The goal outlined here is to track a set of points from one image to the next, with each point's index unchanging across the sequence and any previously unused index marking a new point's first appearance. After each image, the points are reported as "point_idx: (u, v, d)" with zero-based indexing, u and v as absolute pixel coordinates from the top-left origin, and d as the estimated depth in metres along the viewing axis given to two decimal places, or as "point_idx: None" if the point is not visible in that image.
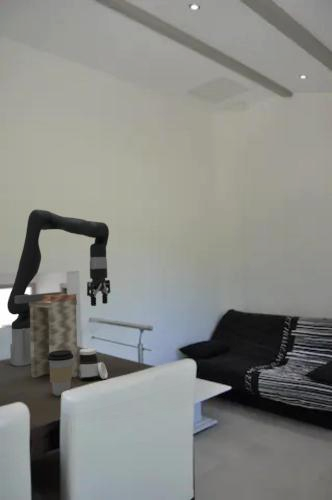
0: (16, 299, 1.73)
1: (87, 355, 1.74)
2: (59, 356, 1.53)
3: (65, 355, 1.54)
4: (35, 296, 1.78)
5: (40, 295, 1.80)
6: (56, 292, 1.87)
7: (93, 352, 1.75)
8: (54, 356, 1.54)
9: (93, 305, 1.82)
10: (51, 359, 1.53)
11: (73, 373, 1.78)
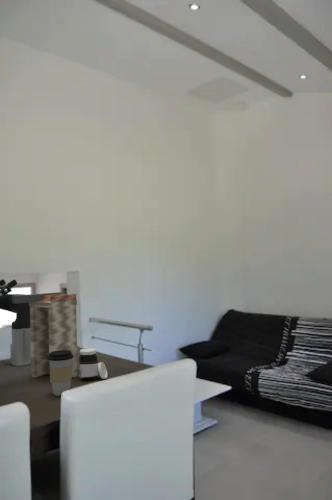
0: (13, 299, 1.74)
1: (87, 355, 1.74)
2: (59, 356, 1.53)
3: (65, 355, 1.54)
4: (33, 296, 1.78)
5: (38, 295, 1.79)
6: (57, 292, 1.86)
7: (93, 352, 1.75)
8: (54, 356, 1.54)
9: None
10: (51, 359, 1.53)
11: (73, 373, 1.78)
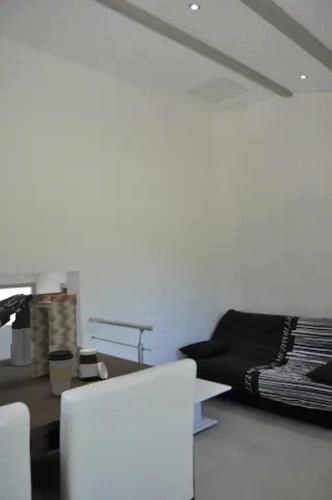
0: (13, 299, 1.74)
1: (87, 355, 1.74)
2: (59, 356, 1.53)
3: (65, 355, 1.54)
4: (33, 296, 1.78)
5: (39, 295, 1.79)
6: (57, 292, 1.86)
7: (93, 352, 1.75)
8: (54, 356, 1.54)
9: None
10: (51, 359, 1.53)
11: (73, 373, 1.78)
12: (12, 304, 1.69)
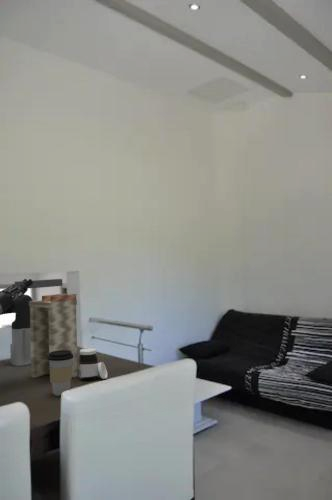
0: (16, 285, 1.72)
1: (87, 355, 1.74)
2: (59, 356, 1.53)
3: (65, 355, 1.54)
4: (35, 282, 1.77)
5: (40, 281, 1.79)
6: (56, 279, 1.86)
7: (93, 352, 1.75)
8: (54, 356, 1.54)
9: (26, 281, 1.78)
10: (51, 359, 1.53)
11: (73, 373, 1.78)
12: (13, 289, 1.69)
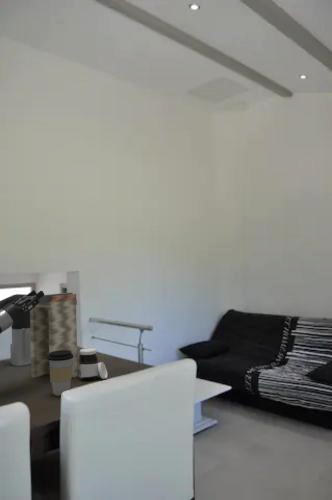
0: None
1: (87, 355, 1.74)
2: (59, 356, 1.53)
3: (65, 355, 1.54)
4: (45, 297, 1.72)
5: None
6: (67, 293, 1.82)
7: (93, 352, 1.75)
8: (54, 356, 1.54)
9: None
10: (51, 359, 1.53)
11: (73, 373, 1.78)
12: (23, 301, 1.64)
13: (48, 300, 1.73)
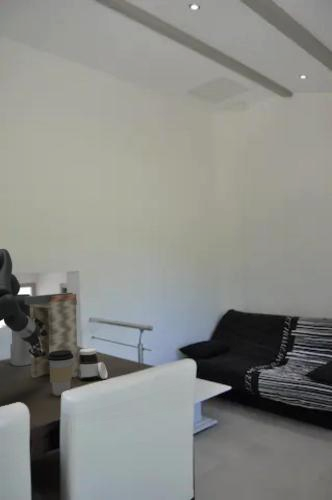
0: (26, 300, 1.68)
1: (87, 355, 1.74)
2: (59, 356, 1.53)
3: (65, 355, 1.54)
4: (45, 297, 1.72)
5: None
6: (67, 293, 1.82)
7: (93, 352, 1.75)
8: (54, 356, 1.54)
9: None
10: (51, 359, 1.53)
11: (73, 373, 1.78)
12: (39, 341, 1.62)
13: (48, 300, 1.73)
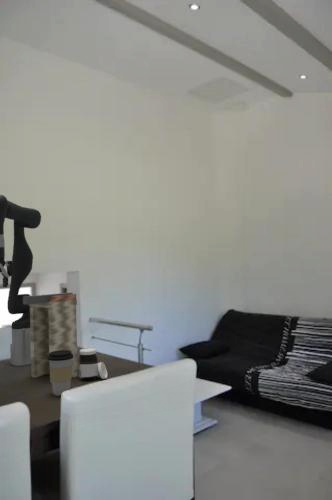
0: (24, 300, 1.68)
1: (87, 355, 1.74)
2: (59, 356, 1.53)
3: (65, 355, 1.54)
4: (44, 297, 1.73)
5: (49, 296, 1.74)
6: (67, 293, 1.82)
7: (93, 352, 1.75)
8: (54, 356, 1.54)
9: (5, 286, 1.70)
10: (51, 359, 1.53)
11: (73, 373, 1.78)
12: None
13: (47, 300, 1.74)
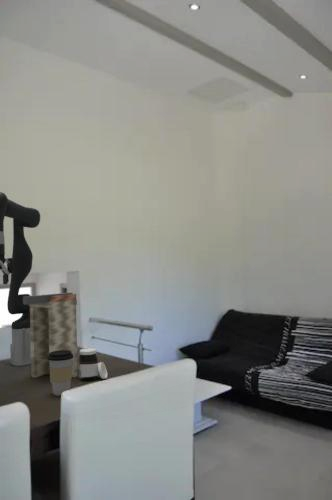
0: (24, 300, 1.68)
1: (87, 355, 1.74)
2: (59, 356, 1.53)
3: (65, 355, 1.54)
4: (44, 297, 1.73)
5: (49, 296, 1.74)
6: (67, 293, 1.82)
7: (93, 352, 1.75)
8: (54, 356, 1.54)
9: (5, 283, 1.70)
10: (51, 359, 1.53)
11: (73, 373, 1.78)
12: None
13: (47, 300, 1.74)
